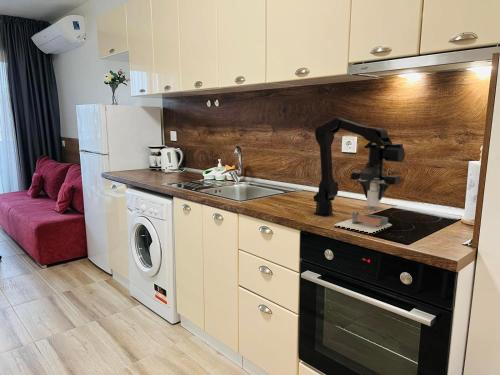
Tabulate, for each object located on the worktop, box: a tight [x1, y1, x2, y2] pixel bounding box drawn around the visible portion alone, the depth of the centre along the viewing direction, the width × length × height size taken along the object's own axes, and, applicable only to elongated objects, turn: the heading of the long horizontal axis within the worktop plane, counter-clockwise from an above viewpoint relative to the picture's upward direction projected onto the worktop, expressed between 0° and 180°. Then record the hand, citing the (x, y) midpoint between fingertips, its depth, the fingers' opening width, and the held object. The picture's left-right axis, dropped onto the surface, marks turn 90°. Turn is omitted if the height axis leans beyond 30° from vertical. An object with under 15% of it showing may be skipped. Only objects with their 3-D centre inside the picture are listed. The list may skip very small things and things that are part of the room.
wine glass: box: [364, 180, 382, 211], centre depth 177 cm, size 8×8×15 cm
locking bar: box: [351, 211, 381, 226], centre depth 145 cm, size 12×2×4 cm, turn 43°
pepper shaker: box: [366, 182, 381, 208], centre depth 147 cm, size 4×4×10 cm
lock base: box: [334, 213, 393, 234], centre depth 148 cm, size 16×17×3 cm
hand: (373, 199), depth 147 cm, fingers closed on pepper shaker, 5 cm apart
